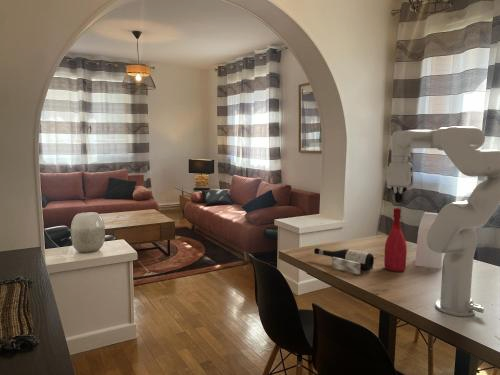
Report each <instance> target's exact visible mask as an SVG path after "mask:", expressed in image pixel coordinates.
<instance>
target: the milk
mask: <svg viewBox="0 0 500 375" xmlns="http://www.w3.org/2000/svg"><path fill="white" fill-rule="evenodd" d="M438 214H439V212H438V213H437V212H424V213H423V215H422V217H421V220H420V223H419V226H418V230H417V240H416V249H415V258H414V266H419V267H424V268H432V269H433V268H434V269H438V270H439V269H441V270H442V265H443V258H442V257H443V253H437V252H434V251H432V250H431V249H430V248H429V246H428V244H427V234H428V231H429V229H430V227H431V226H432V224H433V222H434V220H435V219H436V217H437V215H438Z"/></svg>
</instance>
